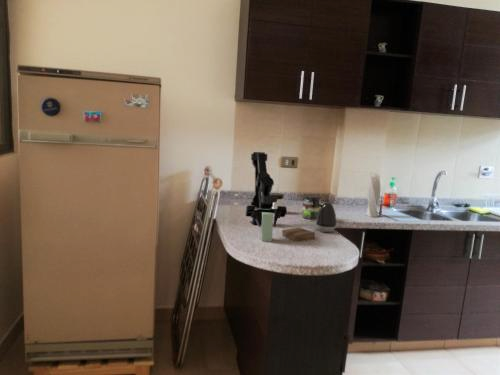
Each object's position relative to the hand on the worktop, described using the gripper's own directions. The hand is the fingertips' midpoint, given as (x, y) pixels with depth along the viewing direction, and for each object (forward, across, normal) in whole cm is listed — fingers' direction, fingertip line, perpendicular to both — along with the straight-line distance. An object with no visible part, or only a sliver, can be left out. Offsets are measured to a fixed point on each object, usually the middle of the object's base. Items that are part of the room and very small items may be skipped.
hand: (267, 226), depth 176 cm
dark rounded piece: (-9, +34, +18) cm, 39 cm away
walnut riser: (0, +16, +10) cm, 19 cm away
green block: (+4, 0, +6) cm, 7 cm away
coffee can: (-28, +33, +38) cm, 58 cm away
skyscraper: (-37, +76, +47) cm, 97 cm away
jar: (-40, +15, +50) cm, 66 cm away
